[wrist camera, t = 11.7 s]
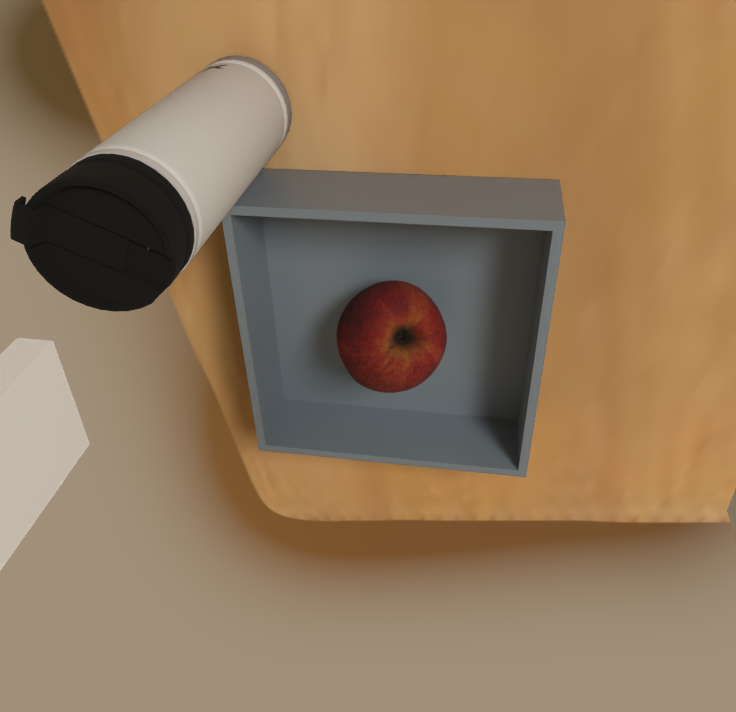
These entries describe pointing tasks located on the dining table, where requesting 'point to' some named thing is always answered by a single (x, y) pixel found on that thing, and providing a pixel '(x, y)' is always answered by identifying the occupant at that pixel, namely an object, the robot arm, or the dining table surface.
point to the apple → (391, 337)
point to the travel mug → (155, 187)
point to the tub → (409, 264)
